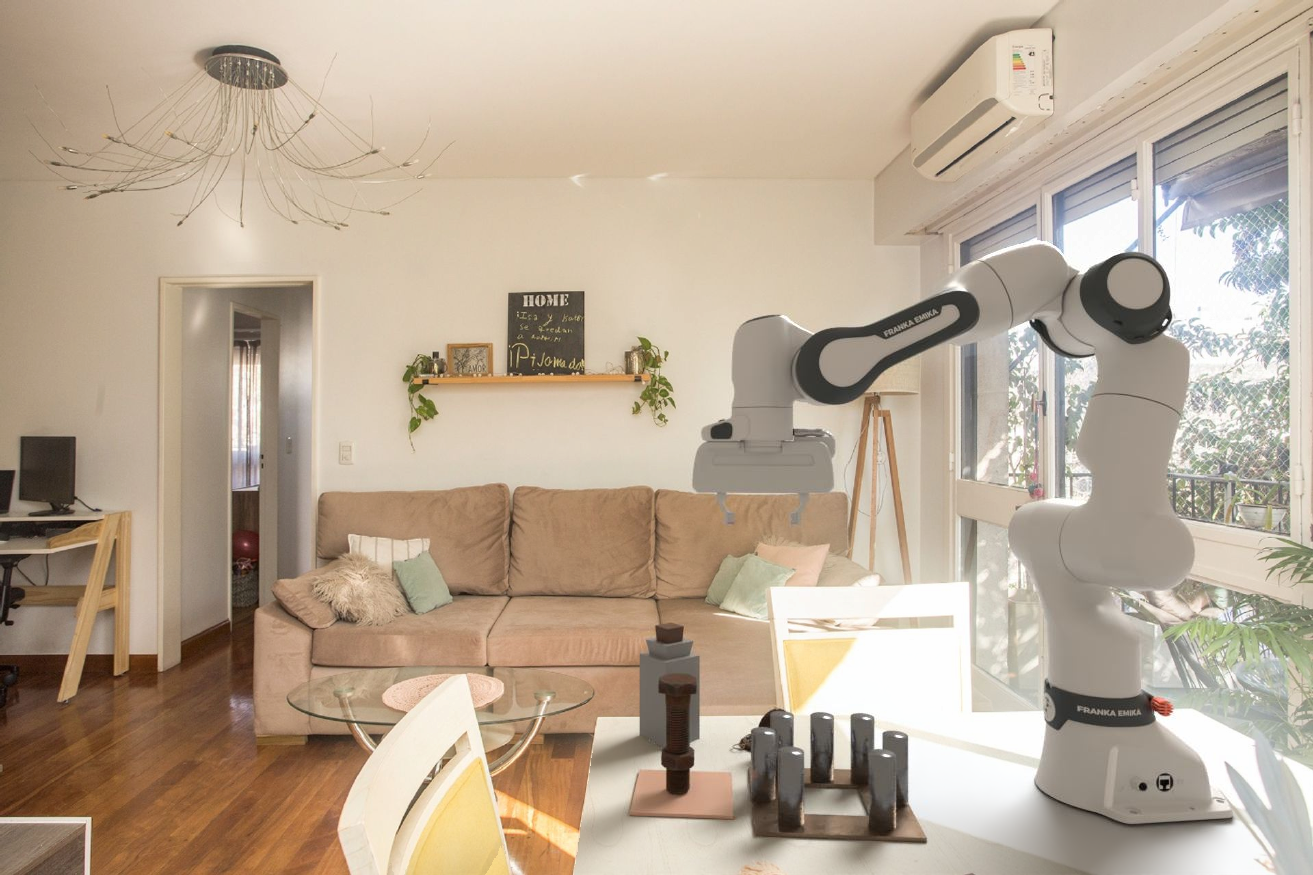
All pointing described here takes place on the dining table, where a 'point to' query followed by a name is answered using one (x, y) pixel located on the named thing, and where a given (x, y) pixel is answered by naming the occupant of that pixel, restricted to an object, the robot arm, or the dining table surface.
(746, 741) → the compass
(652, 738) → the perfume bottle
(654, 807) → the pad
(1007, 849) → the dining table surface
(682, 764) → the bolt
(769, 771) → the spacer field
